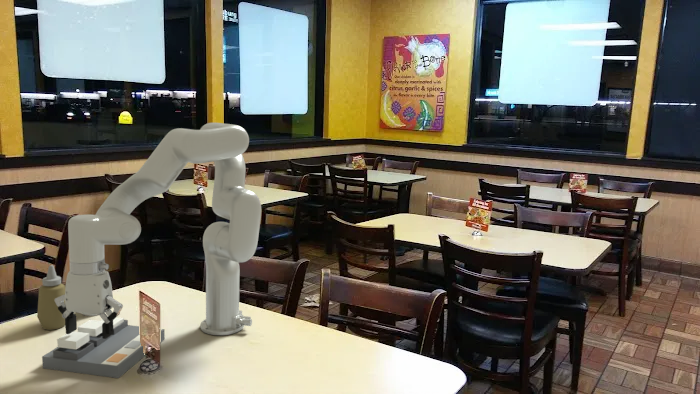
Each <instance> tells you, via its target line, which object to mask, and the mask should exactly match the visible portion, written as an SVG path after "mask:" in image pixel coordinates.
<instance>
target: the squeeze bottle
mask: <svg viewBox="0 0 700 394" xmlns="http://www.w3.org/2000/svg"><path fill="white" fill-rule="evenodd" d="M47 269H48V270H47V273H46V277H43V278H42V280H41V281H42V285H41V286H40V287H39V288H38V298H37V299H38V301H37V315H36V317H37V319H38V321H39V323H40V325H41V327H42V329H43V330H49V331H50V330H51V331H52V330H57V329H61V328H63V327H65V318H63V317H62V315H63V314H62V313H61V312H60V311H59V310H58V306H57V305H56V303H55V298H57V297H60V296H62V295H64V294H65V288H66V284H64V283H62V277H61V276H60V275H57V272H56V268H55V266H54V265H53V264H51V265H48V268H47ZM64 304H65V300H64Z"/></svg>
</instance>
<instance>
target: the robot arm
mask: <svg viewBox="0 0 700 394" xmlns="http://www.w3.org/2000/svg"><path fill="white" fill-rule="evenodd" d="M249 143H250V137H249V134H248V132H247V130H246V129H245V128H243V127H242V126H240V125H237V124H232V123H231V124H230V123H223V122H207V123H206V124H204V125H202V126H201V127H200V129H190V128H182V127H181V128H179V127H178V128H174V129H171V130H170V131H169V132H168V133H166V134H165V135H164V137H163V139H161V141H160V142H159V144H158V145H157V146H156V148H155V149H154V150H153V152H152V153H151V154H150V156H149V157H148V158H147V159H146V161H145V162H144V163H143V165H142V166H141V167H140V168H139V170H138V171H137V172H135V173H134V174H132V175H131V176H130V177H128V178H127V179H126V180H125V181H124V182H122V183H120V184H119V185H118V186H117V187H116V188H114V190H113V191H112V192H111V193H110V194H109V195H108V196H107V198H106V199H105V200H104V202H103V203H101V206H100V207H99V208H98V209H97V211H96V213H95V214H88V213H87V214H78V215H73V216H72V217H70V218H69V220H68V224H67V225H68V226H67V229H68V255H69V257H68V258H69V259H68V260H69V271H68V272H67V275H66V279H65V280H66V281H65V294H64V295H62V296H60V297H57V298H55V303H56V305H57V306H58V310H59V311H60V312H61V313H62V314H63V315H62V317H63V318H65V326H64V328H65V334H70V333H72V332H73V331H75V332H76V330H78V323H77V314H82V313H83V314H92V315H96V316H99V317H100V318H101V320H102V319H103V321H104V323H103V324H102V338H103V339H106V338H108V337H109V336H111V335H112V334H113V320H114V319H115V318H116V317H119V315H121V314H120V313H121V311H122V310H123V307H124V305H123V304H122V303H121V302H119V301H118V300H116V299H115V298H114V295H113V288H112V287H113V286H112V281H111V277H110V273H109V271H108V269H109V268H110V265H109V263H106V260H105V245H120V246H121V245H128V244H132V243H133V242H135V241H136V240H137V239H138V238H139V237H140V235H141V232H142V227H141V223H140V221H139V220H138V218H136V217H135V216H134V215H132V214H131V213H132V212H133V211H134V210H135V208H137V207H138V206H139V205H140V204H141V203H143V202H144V201H145V200H148V199H150V198H153V197H155V196H158V195H161V194H164V193H165V192H168V190H169V189H170V188H171V186H172V185H173V184H174V182H175V181H176V180H177V178H178V177H179V175H180V174H181V173H182V171H183V170H184V168H185V167H186V166H187V165H188V163H189V164H190V163H191V164H206V163H211V162H213V163H214V181H213V188H212V191H213V192H212V198H211V199H212V200H211V209H212V211H213V213H214V214H215V215H217V217H221V218H223V219H226V220H229V222H225V221H216V222H213V223H211V224H210V225H208V226H207V227H206V229H205V230H204V233H203V236H202V247H203V251H204V257H205V319H203V320H202V321H201V323H200V330H201V331H202V332H203V333H205V334H207V335H212V336H227V335H232V334H233V335H234V334H237V333H239V332H240V331H241V330H242V329H244V327H247V326H248V327H252V324H253V320H252V319H251V318H252V317H251V316H247V315H246V316H244V314H243V310H240V276H241V275H240V274H241V273H240V263H246V262H248V261H249V260H250V259H251V258H253V256H254V255H255V253H256V251H257V247H258V241H259V235H260V234H259V233H260V225H261V220H262V219H261V218H262V204H261V200H260V198H259V196H258V195H257V193H255V192H253V190H250V189H247V188H246V187H245V183H246V163H245V158H244V155H243V154H244V153H245V152H246V151H247V149H248V147H249V145H250V144H249ZM64 300H65V304H64ZM112 309H113V311H112ZM76 313H77V314H76ZM83 314H82V315H83Z"/></svg>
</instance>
